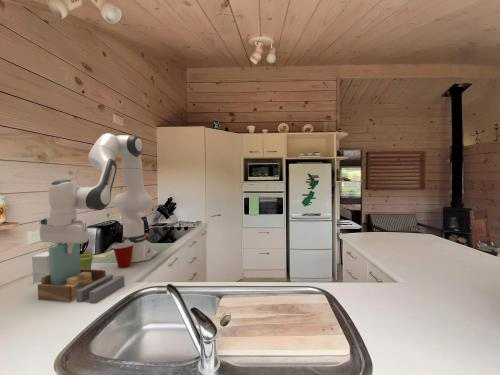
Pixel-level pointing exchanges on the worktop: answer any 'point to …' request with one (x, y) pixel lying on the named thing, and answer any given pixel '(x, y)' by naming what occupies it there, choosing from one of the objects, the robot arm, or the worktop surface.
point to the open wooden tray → (62, 288)
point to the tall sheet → (63, 263)
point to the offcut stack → (79, 281)
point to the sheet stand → (99, 289)
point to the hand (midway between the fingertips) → (65, 253)
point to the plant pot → (86, 261)
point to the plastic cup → (123, 253)
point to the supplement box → (40, 266)
